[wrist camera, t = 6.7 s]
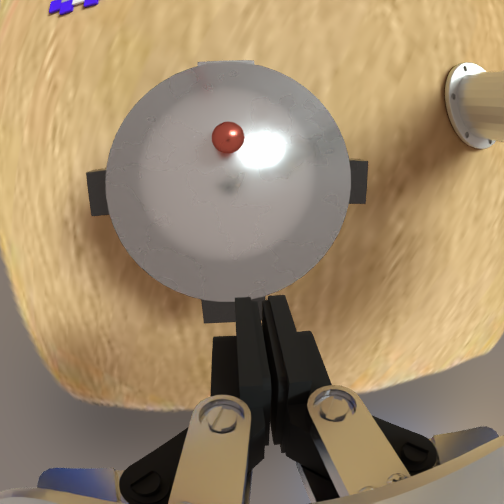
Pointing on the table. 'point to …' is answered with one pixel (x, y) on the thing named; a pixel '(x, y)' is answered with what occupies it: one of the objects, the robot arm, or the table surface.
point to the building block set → (69, 5)
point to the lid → (228, 183)
